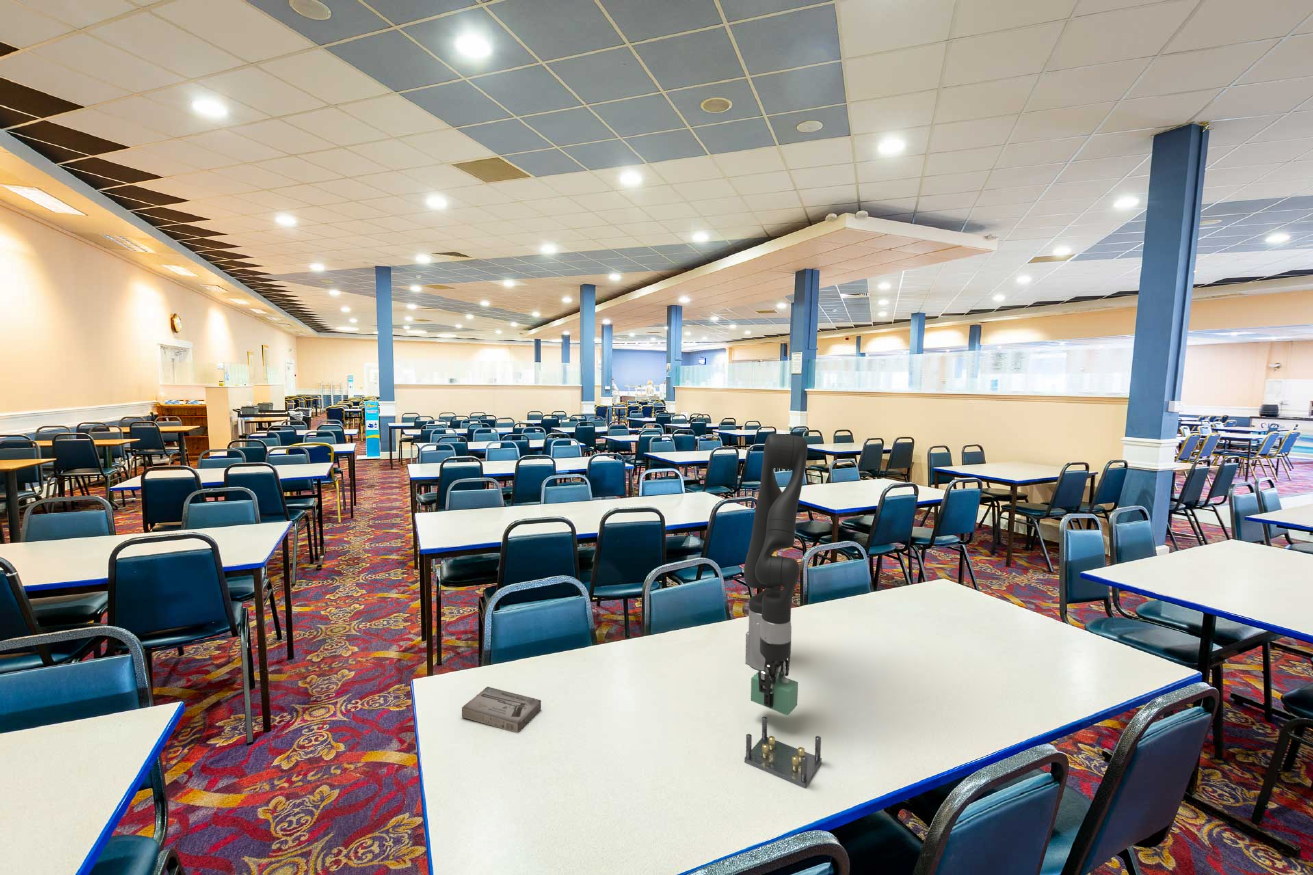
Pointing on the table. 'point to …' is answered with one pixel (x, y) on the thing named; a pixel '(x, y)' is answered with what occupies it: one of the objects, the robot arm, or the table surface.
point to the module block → (777, 694)
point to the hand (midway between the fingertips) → (773, 700)
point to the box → (502, 709)
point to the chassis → (783, 758)
